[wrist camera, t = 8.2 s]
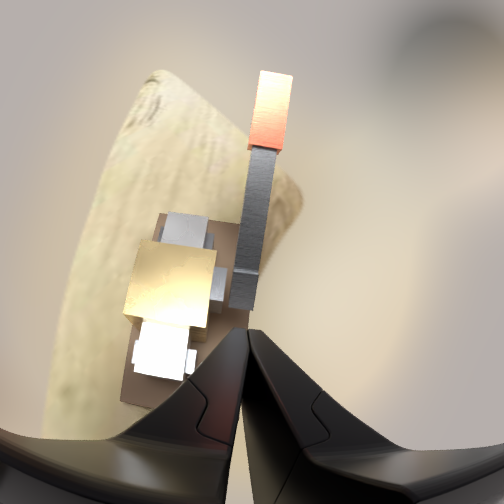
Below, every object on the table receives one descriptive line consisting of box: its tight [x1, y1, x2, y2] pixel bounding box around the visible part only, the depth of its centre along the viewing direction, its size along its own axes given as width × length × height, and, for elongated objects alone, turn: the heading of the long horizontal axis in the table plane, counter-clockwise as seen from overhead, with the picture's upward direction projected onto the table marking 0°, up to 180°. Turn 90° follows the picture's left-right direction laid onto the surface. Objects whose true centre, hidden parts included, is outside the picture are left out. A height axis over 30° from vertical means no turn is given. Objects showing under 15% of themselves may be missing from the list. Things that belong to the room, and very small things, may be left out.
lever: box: [229, 71, 293, 311], centre depth 15 cm, size 2×2×12 cm
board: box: [120, 213, 250, 421], centre depth 21 cm, size 14×8×1 cm, turn 175°
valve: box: [123, 212, 227, 382], centre depth 18 cm, size 10×5×5 cm, turn 175°
